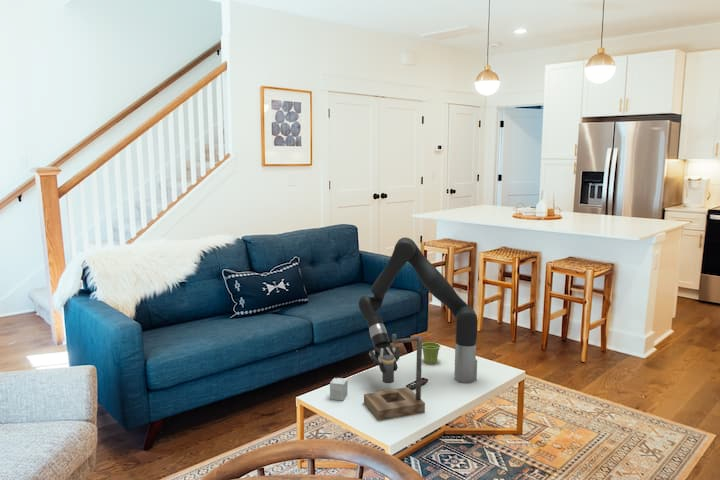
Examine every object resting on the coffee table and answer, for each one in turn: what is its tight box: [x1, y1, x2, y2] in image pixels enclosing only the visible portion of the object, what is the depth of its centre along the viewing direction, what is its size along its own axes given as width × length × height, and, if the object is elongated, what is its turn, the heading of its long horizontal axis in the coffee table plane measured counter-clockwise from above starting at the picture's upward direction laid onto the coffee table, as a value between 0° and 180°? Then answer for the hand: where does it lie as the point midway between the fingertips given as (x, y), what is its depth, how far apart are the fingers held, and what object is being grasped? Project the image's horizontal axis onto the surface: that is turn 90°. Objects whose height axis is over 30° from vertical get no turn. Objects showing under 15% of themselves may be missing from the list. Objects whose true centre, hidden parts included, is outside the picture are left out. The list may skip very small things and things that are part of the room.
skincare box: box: [329, 377, 348, 401], centre depth 232 cm, size 6×6×7 cm
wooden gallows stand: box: [363, 333, 426, 422], centre depth 221 cm, size 20×16×32 cm
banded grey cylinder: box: [381, 355, 395, 384], centre depth 238 cm, size 5×5×11 cm
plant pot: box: [422, 341, 441, 365], centre depth 272 cm, size 9×9×9 cm
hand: (389, 371), depth 237 cm, fingers closed on banded grey cylinder, 5 cm apart
